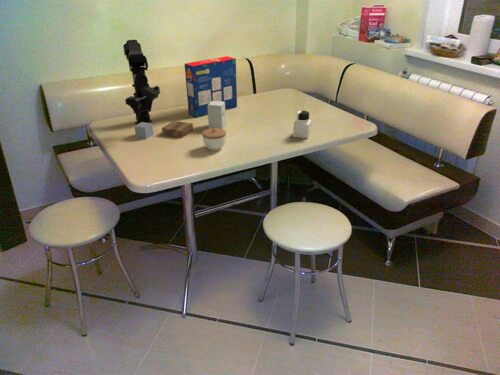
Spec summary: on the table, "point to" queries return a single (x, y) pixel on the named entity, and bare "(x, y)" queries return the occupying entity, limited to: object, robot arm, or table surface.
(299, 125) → the medicine bottle
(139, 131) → the slate cube
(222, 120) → the supplement box
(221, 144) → the lidded jar
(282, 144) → the table surface
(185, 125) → the walnut block
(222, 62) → the blue board game box
